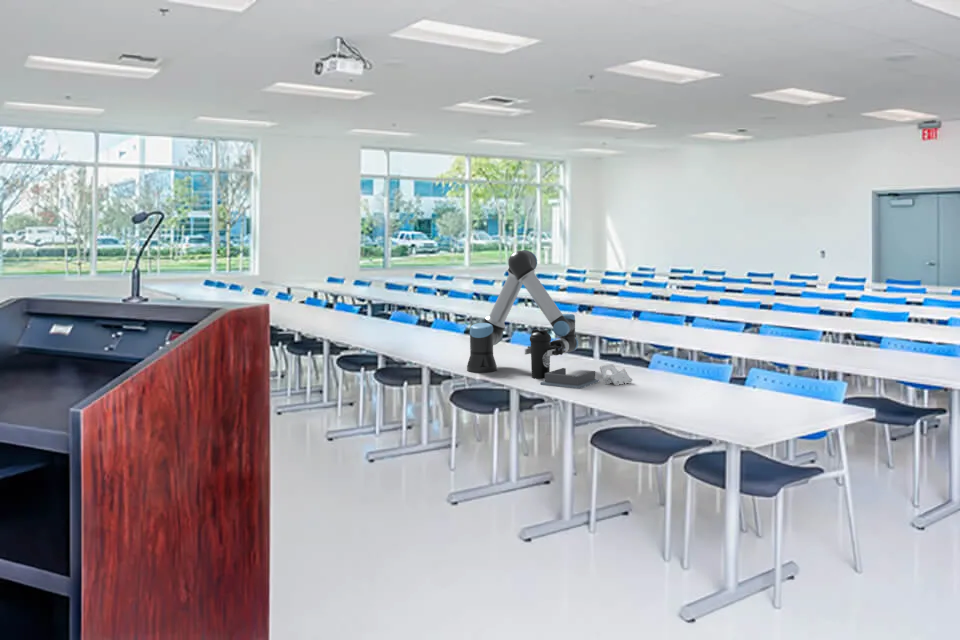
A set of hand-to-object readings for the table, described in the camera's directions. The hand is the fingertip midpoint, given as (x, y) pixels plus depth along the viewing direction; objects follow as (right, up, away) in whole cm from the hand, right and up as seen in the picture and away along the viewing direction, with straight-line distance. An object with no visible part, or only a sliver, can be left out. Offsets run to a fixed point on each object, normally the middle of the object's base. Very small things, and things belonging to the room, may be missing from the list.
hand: (536, 352), depth 380 cm
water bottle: (+2, -12, +4) cm, 13 cm away
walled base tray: (+15, -14, -11) cm, 23 cm away
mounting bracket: (+36, -14, -13) cm, 40 cm away
